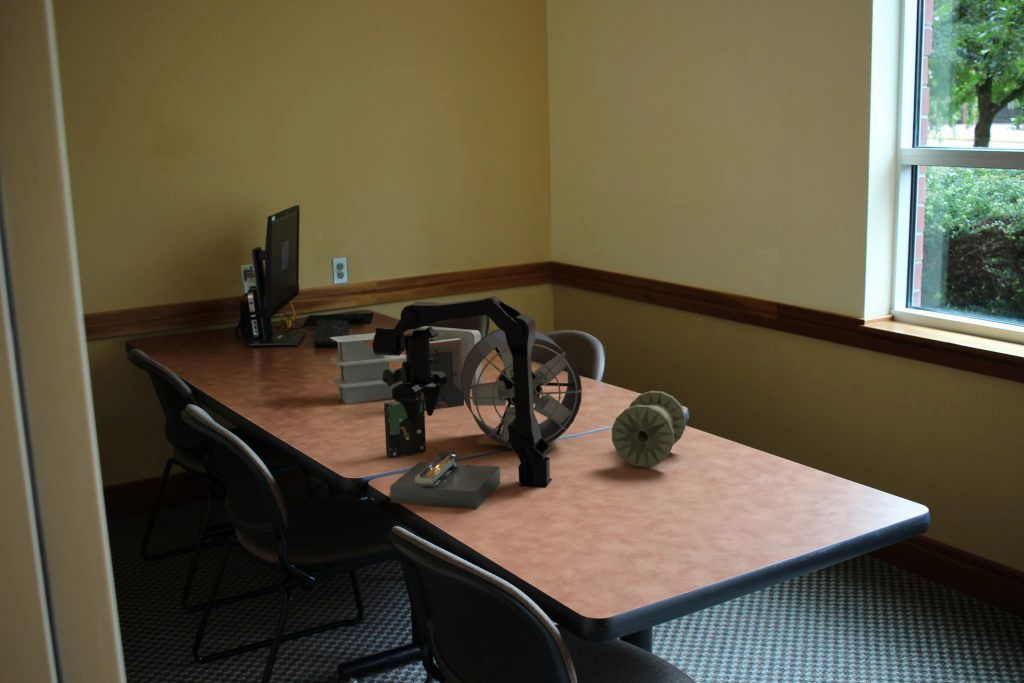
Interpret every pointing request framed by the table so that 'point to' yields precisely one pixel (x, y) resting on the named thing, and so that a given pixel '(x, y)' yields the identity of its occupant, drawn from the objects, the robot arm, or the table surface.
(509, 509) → the table surface
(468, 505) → the grey flat block
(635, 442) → the spool
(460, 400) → the picture frame
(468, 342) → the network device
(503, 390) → the ventilation fan
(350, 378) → the file organizer
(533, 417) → the robot arm
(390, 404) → the disk drive
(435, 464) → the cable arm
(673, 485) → the table surface
